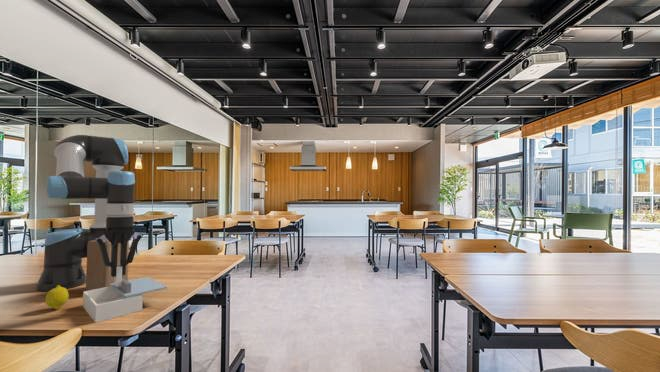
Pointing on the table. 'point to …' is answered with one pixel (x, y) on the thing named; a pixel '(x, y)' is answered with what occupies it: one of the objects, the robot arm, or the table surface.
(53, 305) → the fruit
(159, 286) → the lid
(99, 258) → the wooden block
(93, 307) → the box
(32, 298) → the table surface
